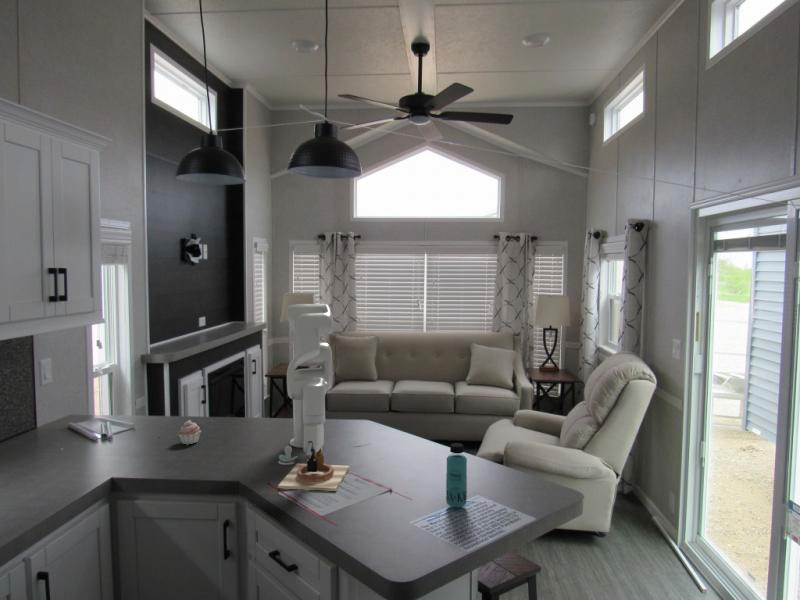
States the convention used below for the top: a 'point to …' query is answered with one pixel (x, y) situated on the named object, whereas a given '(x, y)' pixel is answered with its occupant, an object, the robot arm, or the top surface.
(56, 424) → the top surface
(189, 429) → the cupcake
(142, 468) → the top surface
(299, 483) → the ring board
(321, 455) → the fruit
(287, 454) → the pacifier
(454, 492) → the beverage bottle
